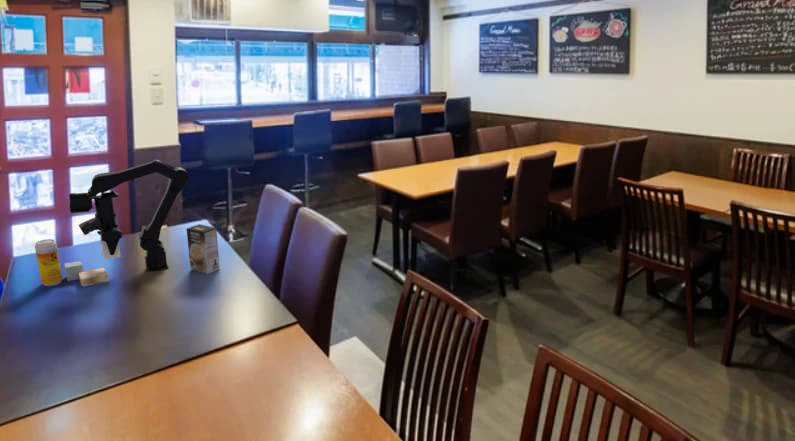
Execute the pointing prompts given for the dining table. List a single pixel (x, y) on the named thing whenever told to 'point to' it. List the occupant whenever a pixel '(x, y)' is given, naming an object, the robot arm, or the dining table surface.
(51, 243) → the beer can
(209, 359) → the dining table surface
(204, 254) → the coffee box
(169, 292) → the dining table surface
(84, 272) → the beech slab
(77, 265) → the teal grey cube
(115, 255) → the white block
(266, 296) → the dining table surface
